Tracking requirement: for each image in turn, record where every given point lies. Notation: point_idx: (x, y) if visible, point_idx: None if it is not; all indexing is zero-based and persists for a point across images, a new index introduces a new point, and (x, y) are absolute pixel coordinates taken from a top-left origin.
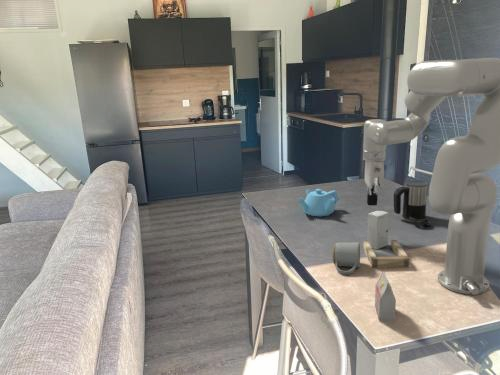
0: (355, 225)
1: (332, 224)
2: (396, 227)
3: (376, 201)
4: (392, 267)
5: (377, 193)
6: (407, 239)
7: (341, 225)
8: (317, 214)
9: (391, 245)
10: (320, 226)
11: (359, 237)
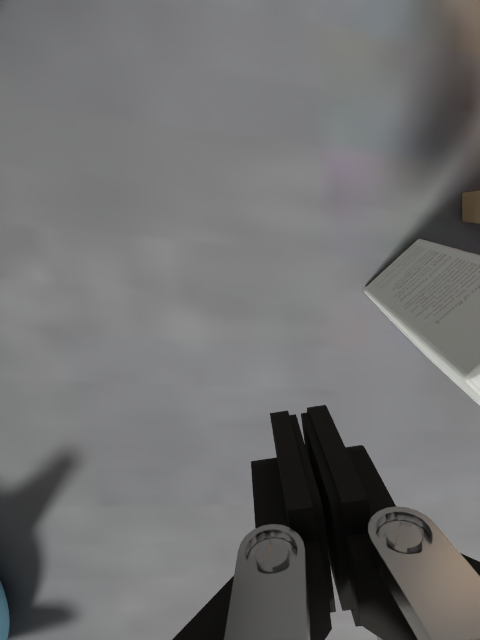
0: (105, 406)
1: (112, 522)
2: (93, 140)
3: (335, 435)
4: None
5: (446, 538)
6: (318, 88)
7: (119, 479)
8: (8, 612)
9: (476, 221)
10: (154, 574)
11: (298, 390)
